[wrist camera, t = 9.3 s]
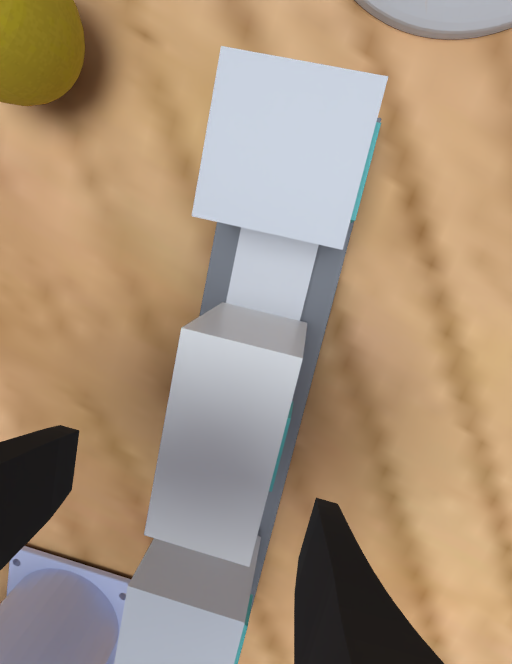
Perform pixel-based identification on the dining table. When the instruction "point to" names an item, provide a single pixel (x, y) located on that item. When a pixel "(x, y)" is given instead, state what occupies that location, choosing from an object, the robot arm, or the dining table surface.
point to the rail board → (260, 300)
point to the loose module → (224, 429)
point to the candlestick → (443, 16)
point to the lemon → (39, 50)
